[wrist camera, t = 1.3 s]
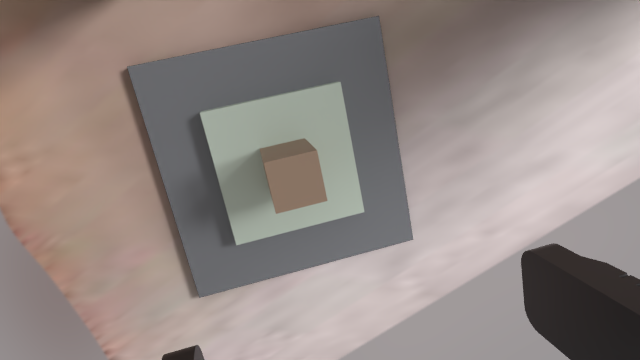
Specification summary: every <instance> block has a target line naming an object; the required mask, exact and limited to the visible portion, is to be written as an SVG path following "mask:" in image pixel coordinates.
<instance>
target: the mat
mask: <svg viewBox="0 0 640 360" xmlns="http://www.w3.org/2000/svg"><path fill="white" fill-rule="evenodd" d="M127 68H128V71H129V75H130V78H131V81H132V84H133V87H134V90H135V94H136V97H137V100H138V103H139V106H140V110H141V113H142V116H143V119H144V122H145V125H146V129H147V132H148V135H149V138H150V141H151V145H152V148H153V151H154V154H155V157H156V160H157V164H158V167H159V170H160V173H161V176H162V180H163V183H164V186H165V189H166V192H167V196H168V199H169V202H170V205H171V208H172V211H173V215H174V218H175V221H176V224H177V227H178V231H179V234H180V237H181V240H182V243H183V246H184V250H185V253H186V256H187V259H188V262H189V266H190V269H191V272H192V275H193V278H194V281H195V285H196V288H197V291H198V294H199V297H204V296H208V295H211V294H215V293H219V292H222V291H226V290H230V289H233V288H237V287H241V286H244V285H248V284H252V283H255V282H259V281H263V280H266V279H270V278H274V277H277V276H281V275H285V274H288V273H292V272H296V271H299V270H303V269H307V268H310V267H314V266H318V265H321V264H325V263H329V262H332V261H336V260H340V259H343V258H347V257H351V256H355V255H358V254H362V253H366V252H369V251H373V250H377V249H380V248H384V247H388V246H391V245H395V244H399V243H402V242H406V241H410V240H413V235H412V228H411V222H410V215H409V209H408V202H407V196H406V189H405V183H404V176H403V170H402V163H401V157H400V150H399V144H398V137H397V131H396V124H395V118H394V111H393V105H392V98H391V92H390V85H389V79H388V72H387V66H386V59H385V53H384V46H383V39H382V33H381V26H380V20H379V16H376V17H371V18H366V19H361V20H356V21H351V22H346V23H341V24H336V25H331V26H326V27H322V28H317V29H312V30H307V31H302V32H297V33H292V34H287V35H282V36H277V37H272V38H267V39H262V40H257V41H252V42H247V43H242V44H237V45H232V46H227V47H223V48H218V49H213V50H208V51H203V52H198V53H193V54H188V55H183V56H178V57H173V58H168V59H163V60H158V61H153V62H148V63H143V64H138V65H133V66H129V67H127ZM333 82H341V87H342V92H343V98H344V103H345V109H346V114H347V119H348V125H349V130H350V136H351V141H352V147H353V152H354V158H355V163H356V168H357V174H358V179H359V185H360V190H361V196H362V201H363V206H364V212H363V213H359V214H355V215H351V216H347V217H344V218H340V219H336V220H332V221H328V222H324V223H321V224H317V225H313V226H309V227H305V228H301V229H297V230H294V231H290V232H286V233H282V234H278V235H274V236H271V237H267V238H263V239H259V240H255V241H251V242H248V243H244V244H240V245H236V242H235V238H234V235H233V231H232V228H231V224H230V220H229V217H228V213H227V210H226V206H225V202H224V199H223V195H222V192H221V188H220V184H219V181H218V177H217V174H216V170H215V166H214V163H213V159H212V155H211V152H210V148H209V145H208V141H207V137H206V134H205V130H204V127H203V123H202V119H201V116H200V112H201V111H205V110H209V109H214V108H219V107H223V106H228V105H232V104H237V103H241V102H246V101H251V100H255V99H260V98H264V97H269V96H273V95H278V94H282V93H287V92H292V91H296V90H301V89H305V88H310V87H314V86H319V85H324V84H328V83H333Z"/></svg>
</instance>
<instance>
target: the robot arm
mask: <svg viewBox="0 0 640 360" xmlns="http://www.w3.org/2000/svg"><path fill="white" fill-rule="evenodd" d="M521 266H522V279H523V292H524V305H525V311H526V314H527V317H528V319H529V321H530V323H531V324H532V326H533V327H534V328H535V330H536V331H537V332H538V333H539V334H541V335H542V336H543V337H544V338H545V339H547V340H548V341H549V342H550V343H551V344H553V345H554V346H555V347H556V348H557V349H558V350H560V351H561V352H562V353H563V354H564V355H566V356H567V357H568V358H569V359H570V360H640V280H639V279H637V278H635V277H633V276H631V275H630V276H628V275H627V273H626V272H624V271H622V270H620V269H617V268H615V267H613V266H611V265H609V264H607V263H605V262H601V261H597V260H593V259H589V258H586V257H581V256H579V255H578V254H575V253H574V252H572V251H570V250H568V249H566V248H564V247H562V246H560V245H558V244H549V245H546V246H542V247H539V248H536V249H532V250H528V251H525V252H524V253H523V255H522V258H521ZM162 360H204V357H203V354H202V351H201V349H200V347H199V346H198V345H196V346H192V347H189V348H185V349H182V350H178V351H175V352H171V353H168V354H164V355H163V357H162Z"/></svg>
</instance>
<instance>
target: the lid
mask: <svg viewBox="0 0 640 360" xmlns="http://www.w3.org/2000/svg"><path fill="white" fill-rule="evenodd" d="M200 116H201V119H202V123H203V127H204V130H205V134H206V137H207V141H208V145H209V148H210V152H211V155H212V159H213V163H214V166H215V170H216V174H217V177H218V181H219V184H220V188H221V192H222V195H223V199H224V202H225V206H226V210H227V213H228V217H229V220H230V224H231V228H232V231H233V235H234V238H235V242H236V245H240V244H244V243H248V242H251V241H255V240H259V239H263V238H267V237H271V236H274V235H278V234H282V233H286V232H290V231H294V230H297V229H301V228H305V227H309V226H313V225H317V224H321V223H324V222H328V221H332V220H336V219H340V218H344V217H347V216H351V215H355V214H359V213H363V212H364V206H363V201H362V196H361V190H360V185H359V179H358V174H357V168H356V163H355V158H354V152H353V147H352V141H351V136H350V130H349V125H348V119H347V114H346V109H345V103H344V98H343V92H342V87H341V82H333V83H328V84H324V85H319V86H314V87H310V88H305V89H301V90H296V91H292V92H287V93H282V94H278V95H273V96H269V97H264V98H260V99H255V100H251V101H246V102H241V103H237V104H232V105H228V106H223V107H219V108H214V109H209V110H205V111H201V112H200Z"/></svg>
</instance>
